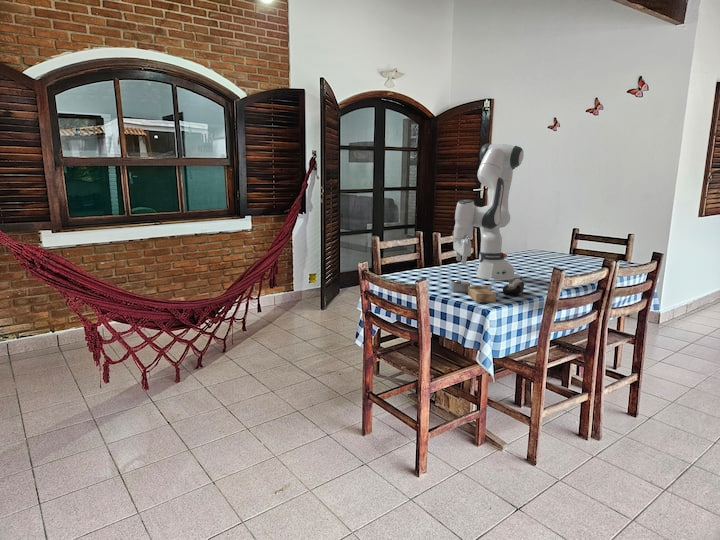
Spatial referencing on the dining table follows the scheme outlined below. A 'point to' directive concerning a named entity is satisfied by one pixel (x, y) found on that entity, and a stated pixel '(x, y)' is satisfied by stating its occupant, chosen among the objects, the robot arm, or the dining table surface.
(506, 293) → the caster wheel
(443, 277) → the dining table surface
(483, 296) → the stand
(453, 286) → the housing
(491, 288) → the bushing
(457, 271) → the dining table surface
